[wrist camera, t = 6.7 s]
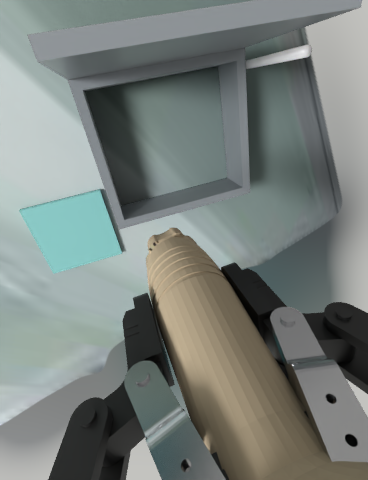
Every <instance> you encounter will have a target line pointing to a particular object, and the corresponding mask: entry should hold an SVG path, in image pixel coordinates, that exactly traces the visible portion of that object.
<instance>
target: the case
mask: <svg viewBox="0 0 368 480" xmlns="http://www.w3.org/2000/svg"><path fill="white" fill-rule="evenodd" d="M361 2H362V0H254V1H247V2H241V3H234V4H227V5H221V6H214V7H207V8H201V9H194V10H188V11H181V12H174V13H168V14H161V15H154V16H148V17H141V18H135V19H128V20H121V21H115V22H108V23H101V24H95V25H88V26H82V27H75V28H68V29H62V30H55V31H48V32H42V33H35V34H29V35H27V36H28V39H29V41H30V44H31V46H32V49H33V52H34V54H35V57H36V59H37V62H39V63H41V64H42V65H44V66H45V67H47V68H49V69H50V70H52V71H54V72H55V73H57V74H59V75H60V76H62V77H64V78H65V79H67V80H68V83H69V85H70V88H71V91H72V94H73V97H74V100H75V103H76V106H77V109H78V112H79V115H80V118H81V121H82V123H83V126H84V129H85V132H86V135H87V138H88V141H89V144H90V147H91V150H92V153H93V156H94V158H95V161H96V164H97V167H98V170H99V173H100V176H101V179H102V182H103V185H104V188H105V191H106V194H107V196H108V199H109V202H110V205H111V208H112V211H113V214H114V217H115V220H116V223H117V226H118V229H122V228H126V227H129V226H133V225H137V224H140V223H144V222H147V221H151V220H154V219H158V218H162V217H165V216H169V215H172V214H176V213H179V212H183V211H187V210H190V209H194V208H197V207H201V206H204V205H208V204H212V203H215V202H219V201H222V200H226V199H229V198H233V197H237V196H240V195H244V194H247V193H250V172H249V145H248V117H247V90H246V69H250V68H255V67H260V66H265V65H270V64H275V63H280V62H286V61H291V60H296V59H301V58H306V57H309V56H310V54H311V52H312V48H311V46H310V45H304V46H300V47H297V48H293V49H289V50H285V51H281V52H277V53H273V54H270V55H266V56H262V57H258V58H254V59H250V60H246V61H245V47H248V46H251V45H254V44H257V43H260V42H263V41H266V40H268V39H271V38H274V37H277V36H280V35H283V34H286V33H288V32H291V31H294V30H297V29H300V28H303V27H306V26H309V25H311V24H314V23H317V22H320V21H323V20H326V19H329V18H331V17H334V16H337V15H340V14H343V13H346V12H349V11H352V10H354V9H357V8H360V7H361ZM216 66H218V71H219V83H220V95H221V107H222V119H223V132H224V144H225V156H226V168H227V178H225V179H221V180H217V181H213V182H210V183H206V184H202V185H198V186H195V187H191V188H187V189H183V190H180V191H176V192H172V193H168V194H165V195H161V196H157V197H153V198H149V199H146V200H142V201H138V202H134V203H131V204H127V205H123V206H121V203H120V200H119V197H118V194H117V191H116V187H115V184H114V181H113V178H112V175H111V172H110V169H109V166H108V162H107V159H106V156H105V153H104V150H103V147H102V144H101V140H100V137H99V134H98V131H97V128H96V125H95V122H94V118H93V115H92V112H91V109H90V106H89V103H88V100H87V97H86V93H85V91H90V90H95V89H100V88H105V87H111V86H116V85H121V84H126V83H132V82H137V81H142V80H147V79H153V78H158V77H163V76H168V75H174V74H179V73H184V72H189V71H195V70H200V69H205V68H210V67H216Z"/></svg>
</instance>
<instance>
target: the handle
mask: <svg viewBox="0 0 368 480" xmlns="http://www.w3.org/2000/svg"><path fill="white" fill-rule="evenodd" d="M148 250H149V254H148V256H147V258H146V265H147V275H148V284H149V291H150V297H151V302H152V306H153V310H154V313H155V317H156V321H157V324H158V327H159V330H160V333H161V336H162V339H163V341H164V344H165V347H166V350H167V353H168V355H169V358H170V361H171V364H172V367H173V370H174V372H175V375H176V378H177V381H178V384H179V386H180V389H181V392H182V395H183V398H184V401H185V404H186V407H187V410H188V413H189V416H190V419H191V422H192V423H193V425H194V427H195V428H196V430H197V432H198V433H199V435H200V437H201V438H202V440H203V442H204V444H205V445H206V447H207V449H208V450H209V452H210V454H213V453H215V452H217V455H218V458H219V461H220V464H221V467H222V470H223V469H224V470H225V471H226V474H227V476H228V478H229V480H368V462H351V461H335V462H332V461H331V460H330V459H329V457H328V456H327V455H326V454H325V453H324V451H323V449H322V447H321V445H320V443H319V441H318V438H317V436H316V434H315V432H314V430H313V427H312V425H311V422H310V420H309V418H308V417H307V416H306V414H305V413H304V411H306V410H305V407H304V405H303V404H302V402H301V401H300V400H298V398H297V396H296V394H295V392H294V390H293V388H292V386H291V384H290V383H289V381H288V379H287V378H286V376H285V374H284V373H283V371H282V370H281V368H280V366H279V365H278V363H277V361H276V360H275V358H274V357H273V355H272V353H271V352H270V350H269V348H268V347H267V345H266V344H265V342H264V340H263V339H262V337H261V335H260V333H259V332H258V330H257V328H256V327H255V325H254V323H253V322H252V320H251V318H250V316H249V315H248V313H247V311H246V310H245V308H244V306H243V304H242V303H241V301H240V299H239V298H238V296H237V294H236V293H235V291H234V289H233V287H232V286H231V285H230V283H229V281H228V280H227V278H226V277H225V276H224V274H223V273H222V271H221V270H220V269H219V268H218V266H217V265H216V264H215V263H214V261H213V260H212V259H211V258H210V257H209V256H208V255H207V254H206V252H205V251H204V250H202V249H201V248H200V247H199V246H198V245H197V244H196V242H195V241H194V240H193V239H192V238H191V237H189V236H185V235H183V234H182V233H181V231H180V230H179V229H177V228H170V229H169V230H168V231H166V232H164V233H162V234H160V235H153V236H152V237H151V238H150V239H149V241H148Z"/></svg>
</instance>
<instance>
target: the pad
mask: <svg viewBox="0 0 368 480" xmlns="http://www.w3.org/2000/svg"><path fill="white" fill-rule="evenodd" d="M20 213H21V215H22V217H23V219H24V221H25V222H26V224H27V226H28V228H29V230H30V232H31V233H32V235H33V237H34V239H35V241H36V242H37V244H38V246H39V248H40V250H41V252H42V253H43V255H44V257H45V259H46V261H47V263H48V264H49V266H50V268H51V270H52V272H53V274H54V273H57V272H61V271H64V270H68V269H71V268H74V267H78V266H81V265H84V264H88V263H91V262H95V261H98V260H101V259H105V258H108V257H112V256H115V255H118V254H122V251H121V248H120V245H119V242H118V239H117V236H116V234H115V231H114V228H113V225H112V222H111V219H110V217H109V214H108V211H107V208H106V205H105V202H104V200H103V197H102V194H101V191H100V189H99V190H95V191H91V192H87V193H83V194H79V195H75V196H71V197H67V198H63V199H59V200H55V201H51V202H47V203H43V204H39V205H35V206H31V207H27V208H23V209H20Z"/></svg>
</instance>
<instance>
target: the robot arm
mask: <svg viewBox="0 0 368 480" xmlns="http://www.w3.org/2000/svg"><path fill="white" fill-rule="evenodd" d="M221 271H222V273H223V274H224V276H225V277H226V278H227V280H228V281H229V283H230V285H231V286H232V287H233V289H234V291H235V293H236V294H237V296H238V298H239V299H240V301H241V303H242V304H243V306H244V308H245V310H246V311H247V313H248V315H249V316H250V318H251V320H252V322H253V323H254V325H255V327H256V328H257V330H258V332H259V333H260V335H261V337H262V339H263V340H264V342H265V344H266V345H267V347H268V348H269V350H270V352H271V353H272V355H273V357H274V358H275V360H276V361H277V363H278V365H279V366H280V368H281V370H282V371H283V373H284V374H285V376H286V378H287V379H288V381H289V383H290V384H291V386H292V388H293V390H294V392H295V394H296V396H297V398H298V400H300V401H301V402H302V404H303V405H304V407H305V410H306V411H304V413H305V414H306V416H307V417H308V418H309V420H310V422H311V425H312V427H313V430H314V432H315V434H316V436H317V438H318V441H319V443H320V445H321V447H322V449H323V451H324V453H325V454H326V455H327V456H328V457H329V459H330V460H331V461H332V462H335V461H351V462H368V417H367V415H366V414H365V412H364V410H363V408H362V407H361V405H360V403H359V401H358V400H357V398H356V396H355V395H354V392H353V391H352V389H351V387H350V385H349V384H348V382H347V380H346V379H348V380H349V381H350V382H352V383H353V384H354V385H356V386H357V387H359V388H360V389H361V390H363V391H364V392H366V393H367V394H368V313H366V312H364V311H362V310H360V309H358V308H356V307H354V306H352V305H350V304H347V303H342V302H336V303H331V304H329V305H327V307H326V308H325V311H324V312H323V313H311V314H303V313H301V312H300V311H298V310H296V309H294V308H291V307H287V306H286V305H285V304H284V303H283V302H282V301H281V300H280V298H279V297H278V296H277V295H276V294H275V293H274V292H273V291H272V290H271V289H270V287H269V286H267V284H266V283H265V282H264V281H263V280H262V279H261V277H260V276H259V275H258V274H257V273H256V272H254V271H252V270H250V269H245V270H241V269H240V267H239V266H238V265H237V264H236V263H232V264H229V265H226V266H223V267H221ZM133 300H134V306H135V308H134V309H132V310H129V311H126V313H125V315H124V318H123V329H124V337H125V346H126V355H127V364H128V371H127V374H126V377H125V380H124V381H123V383H122V384H121V386H120V387H119V388H118V389H117V390H115V391H114V392H113V393H112V394H110V395H109V396H108V397H106V398H105V399H104V400H103V399H101V398H90V399H88V400H86V401H84V402H83V403H81V404H80V405H79V406H78V408H76V410H75V411H74V413H73V414H72V416H71V418H70V421H69V424H68V427H67V430H66V432H65V435H64V438H63V440H62V443H61V446H60V449H59V452H58V454H57V457H56V460H55V462H54V465H53V468H52V471H51V473H50V476H49V479H48V480H126V475H127V469H128V463H129V457H130V451H131V449H132V448H133V447H135V446H136V445H137V444H138V443H139V442H140V441H141V440H142V439H143V438H144V437H146V442H147V445H148V447H149V450H150V452H151V455H152V457H153V460H154V462H155V464H156V467H157V469H158V472H159V474H160V476H161V479H162V480H229V478H228V476H227V474H226V471H225V470H224V469H223V470H222V467H221V464H220V461H219V458H218V455H217V452H215V453H213V454H210V452H209V450H208V449H207V447H206V445H205V444H204V442H203V440H202V438H201V437H200V435H199V433H198V432H197V430H196V428H195V427H194V425H193V423H192V422H191V420H190V418H189V417H188V415H187V413H186V412H185V411H184V409H182V407H181V406H180V404H179V402H178V401H177V399H176V397H175V396H174V394H173V392H172V390H171V389H170V386H173V385H174V380H173V377H172V373H171V369H170V366H169V362H168V358H167V354H166V351H165V347H164V343H163V340H162V336H161V333H160V330H159V327H158V324H157V321H156V317H155V313H154V310H153V307H152V304H151V301H150V299H149V296H148V293H145V294H142V295H140V296H137V297H134V298H133Z"/></svg>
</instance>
